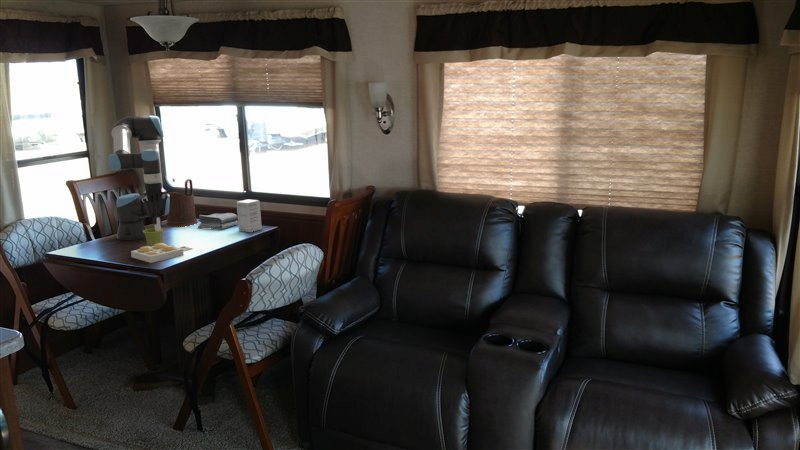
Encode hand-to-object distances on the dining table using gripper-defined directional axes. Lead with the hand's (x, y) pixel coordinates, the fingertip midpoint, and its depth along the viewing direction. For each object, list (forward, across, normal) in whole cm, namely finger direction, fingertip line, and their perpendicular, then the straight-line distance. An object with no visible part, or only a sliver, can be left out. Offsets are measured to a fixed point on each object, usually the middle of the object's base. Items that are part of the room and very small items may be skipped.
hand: (158, 230), depth 292 cm
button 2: (+11, -7, -7) cm, 15 cm away
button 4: (+10, 0, -7) cm, 12 cm away
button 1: (+10, -7, 0) cm, 12 cm away
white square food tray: (+12, -4, -4) cm, 13 cm away
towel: (+12, +53, +27) cm, 61 cm away
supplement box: (+12, +57, +4) cm, 59 cm away
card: (+12, +10, -2) cm, 16 cm away
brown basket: (+11, +47, +52) cm, 71 cm away
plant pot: (+12, +5, +14) cm, 19 cm away
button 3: (+10, 0, 0) cm, 10 cm away
